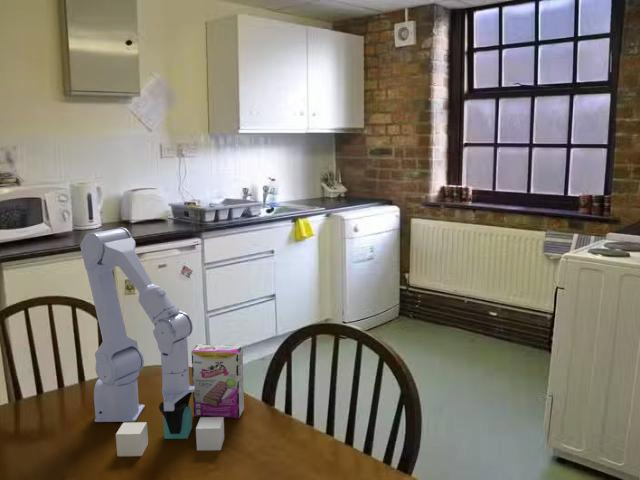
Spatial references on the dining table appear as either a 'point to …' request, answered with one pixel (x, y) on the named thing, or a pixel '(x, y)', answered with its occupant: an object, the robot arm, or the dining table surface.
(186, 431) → the teal block
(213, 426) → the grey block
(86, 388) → the dining table surface
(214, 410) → the candy bar box
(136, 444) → the offwhite block
